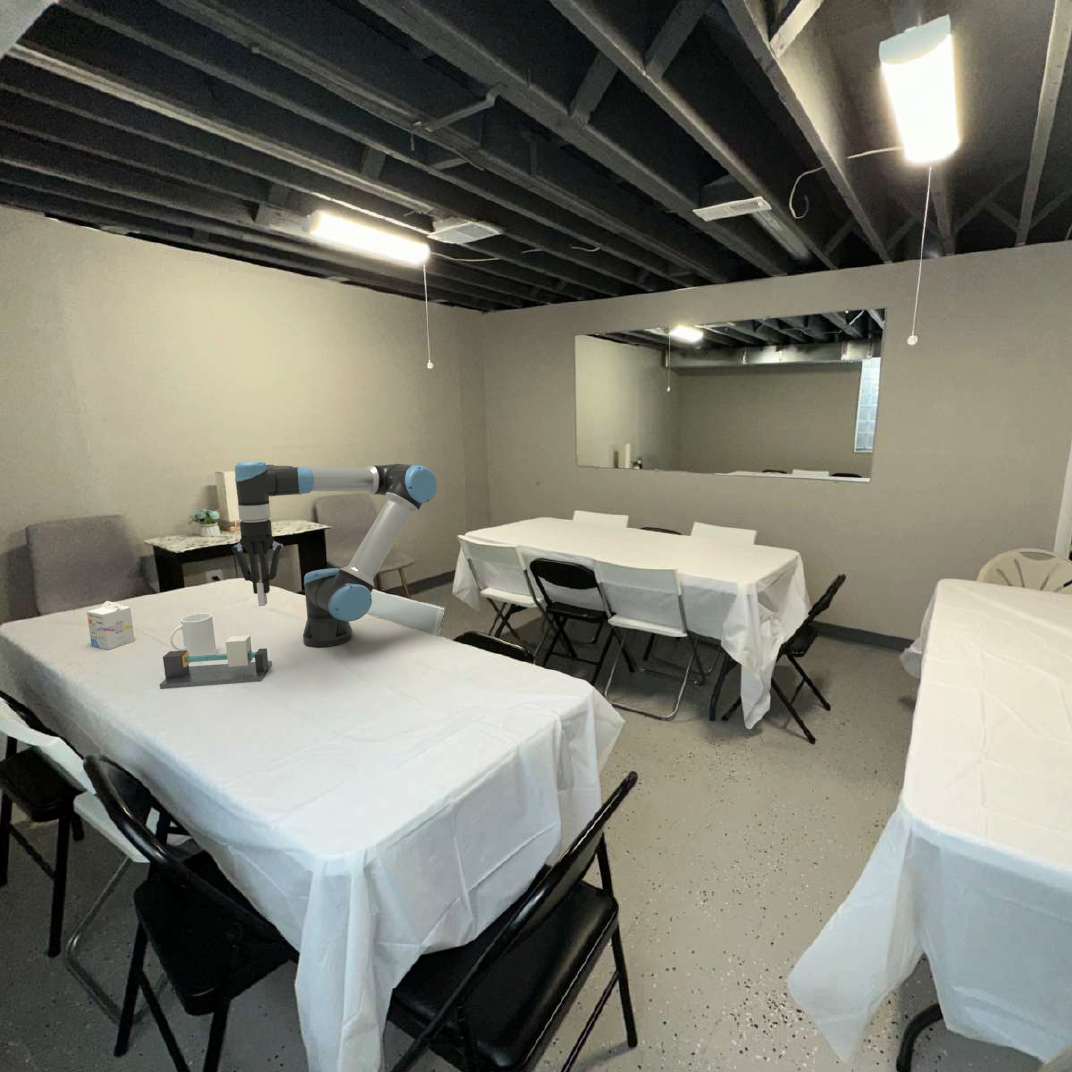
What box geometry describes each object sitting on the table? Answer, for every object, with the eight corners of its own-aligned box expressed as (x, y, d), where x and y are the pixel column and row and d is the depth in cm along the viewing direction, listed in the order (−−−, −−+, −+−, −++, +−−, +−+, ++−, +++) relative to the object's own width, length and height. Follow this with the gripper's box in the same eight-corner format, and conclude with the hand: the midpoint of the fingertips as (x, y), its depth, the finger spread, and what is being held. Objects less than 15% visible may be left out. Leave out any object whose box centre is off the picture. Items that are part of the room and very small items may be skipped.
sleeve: (252, 659, 160) (250, 635, 159) (247, 665, 156) (245, 640, 155) (233, 660, 160) (230, 636, 158) (228, 666, 156) (225, 641, 154)
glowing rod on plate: (272, 664, 165) (269, 640, 164) (260, 681, 154) (258, 655, 153) (178, 671, 161) (175, 646, 159) (160, 688, 150) (156, 662, 149)
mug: (176, 666, 164) (171, 627, 162) (168, 658, 170) (163, 620, 168) (221, 655, 172) (216, 617, 170) (212, 647, 178) (207, 610, 176)
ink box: (90, 646, 179) (84, 605, 177) (118, 637, 187) (112, 598, 184) (108, 650, 176) (101, 609, 173) (135, 641, 184) (130, 601, 181)
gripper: (284, 517, 156) (291, 599, 161) (233, 518, 154) (242, 601, 158) (277, 521, 149) (284, 607, 153) (223, 522, 147) (232, 610, 151)
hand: (263, 604), depth 156 cm, fingers closed
